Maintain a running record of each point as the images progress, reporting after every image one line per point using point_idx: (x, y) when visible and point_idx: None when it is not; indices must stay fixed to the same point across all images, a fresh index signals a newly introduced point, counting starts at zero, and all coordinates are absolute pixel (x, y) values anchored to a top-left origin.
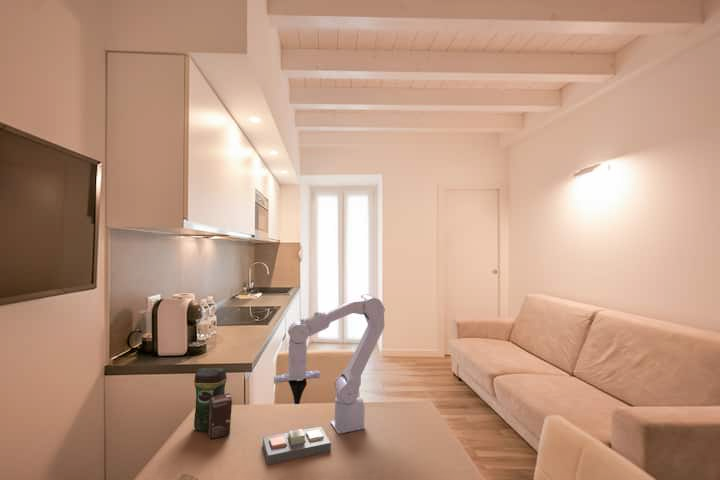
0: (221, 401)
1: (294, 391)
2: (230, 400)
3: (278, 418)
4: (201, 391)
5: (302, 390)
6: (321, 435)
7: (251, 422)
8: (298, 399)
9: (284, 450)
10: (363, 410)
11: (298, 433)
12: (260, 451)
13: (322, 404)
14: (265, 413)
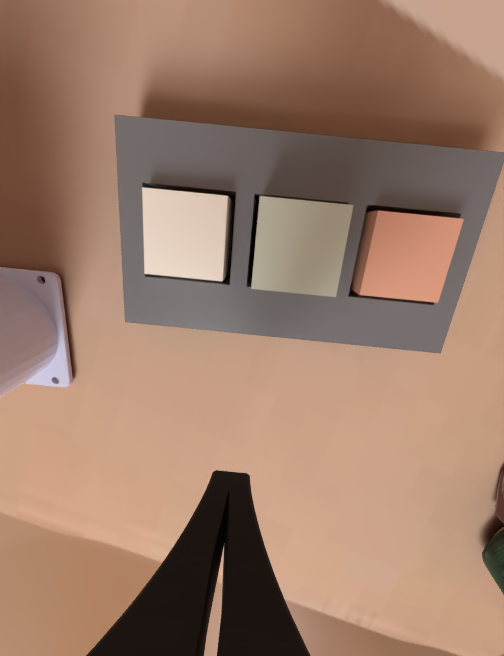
0: None
1: (271, 613)
2: None
3: (277, 501)
4: None
5: (153, 598)
6: (149, 197)
7: (384, 515)
8: (221, 502)
9: (401, 162)
10: None
11: (290, 239)
12: None
13: (75, 525)
14: (311, 550)
